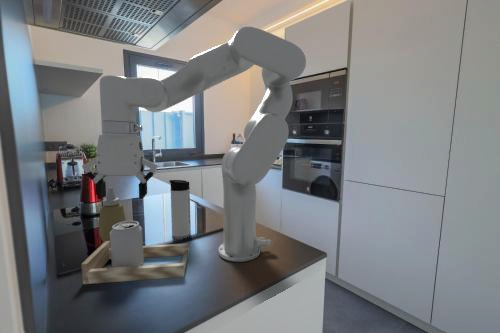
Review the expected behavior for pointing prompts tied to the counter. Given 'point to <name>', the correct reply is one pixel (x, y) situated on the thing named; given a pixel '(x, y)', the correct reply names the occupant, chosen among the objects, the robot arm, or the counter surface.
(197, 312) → the counter surface
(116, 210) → the squeeze bottle
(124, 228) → the can
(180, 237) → the travel mug
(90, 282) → the frame
